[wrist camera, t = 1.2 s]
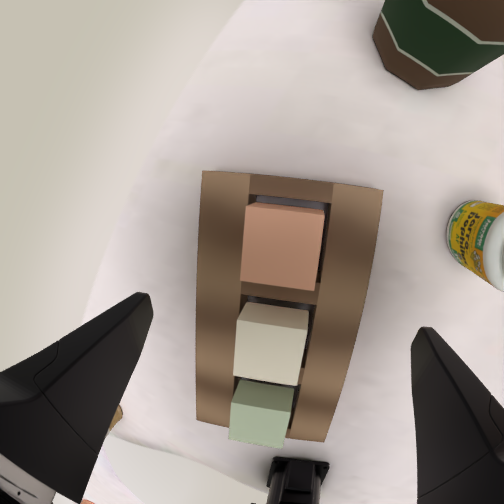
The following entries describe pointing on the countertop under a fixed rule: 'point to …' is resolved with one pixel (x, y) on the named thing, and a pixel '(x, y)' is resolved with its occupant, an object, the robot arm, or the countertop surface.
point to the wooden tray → (282, 292)
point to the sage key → (260, 413)
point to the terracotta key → (281, 245)
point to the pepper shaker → (86, 502)
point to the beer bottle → (439, 39)
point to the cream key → (270, 343)
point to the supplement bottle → (479, 240)
